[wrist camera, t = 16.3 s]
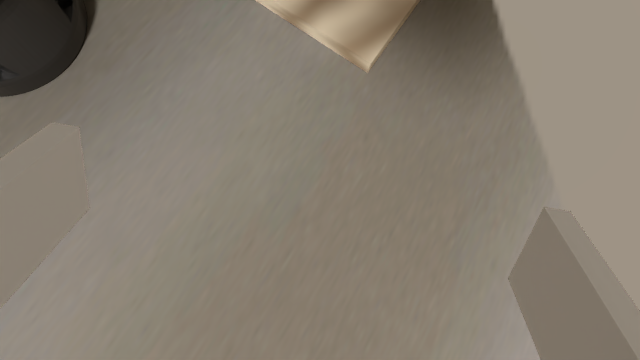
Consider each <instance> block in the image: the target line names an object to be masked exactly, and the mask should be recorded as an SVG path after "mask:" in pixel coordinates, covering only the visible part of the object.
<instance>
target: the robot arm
mask: <svg viewBox="0 0 640 360" xmlns="http://www.w3.org/2000/svg"><path fill="white" fill-rule="evenodd" d="M86 28H87V14H86V8H85V5H84V2H83V0H0V97H3V96H13V95H18V94H22V93H26V92H29V91H32V90H34V89H37V88H39V87H41V86H43V85H45V84H47V83H48V82H50V81H51V80H53V79H54V78H56V77H57V76H58V75H60V74H61V73H62V72H63V71H64V70H65V69H66V68H67V67H68V66H69V65H70V64H71V62H72V61H73V60H74V58H75V57H76V55H77V54H78V52H79V50H80V48H81V46H82V44H83V41H84V38H85V34H86ZM89 208H90V204H89V197H88V189H87V181H86V174H85V166H84V158H83V151H82V143H81V136H80V128H79V127H77V126H71V125H65V124H59V123H54V122H51V123H50V124H48V125H47V126H46V127H44V128H43V129H41V130H40V131H38V132H37V133H36V134H34V135H33V136H31V137H30V138H29V139H27V140H26V141H24V142H23V143H21V144H20V145H19V146H17V147H16V148H14V149H13V150H12V151H10V152H9V153H7V154H6V155H4V156H3V157H2V158H0V309H1V308H2V306H3V305H4V304H5V303H6V302H7V301H8V300H9V299H10V297H11V296H12V295H13V294H14V293H15V292H16V291H17V290H18V288H19V287H20V286H21V285H22V284H23V283H24V282H25V281H26V279H27V278H28V277H29V276H30V275H31V274H32V273H33V272H34V270H35V269H36V268H37V267H38V266H39V265H40V264H41V263H42V261H43V260H44V259H45V258H46V257H47V256H48V255H49V254H50V252H51V251H52V250H53V249H54V248H55V247H56V246H57V245H58V243H59V242H60V241H61V240H62V239H63V238H64V237H65V236H66V234H67V233H68V232H69V231H70V230H71V229H72V228H73V227H74V225H75V224H76V223H77V222H78V221H79V220H80V219H81V218H82V216H83V215H84V214H85V213H86V212H87V211H88V210H89ZM508 280H509V282H510V285H511V287H512V289H513V292H514V294H515V297H516V299H517V302H518V304H519V307H520V309H521V312H522V314H523V317H524V319H525V322H526V324H527V327H528V329H529V332H530V334H531V337H532V339H533V342H534V344H535V347H536V349H537V352H538V354H539V357H540V359H541V360H640V310H639V309H638V308H637V306H636V305H635V303H634V302H633V300H632V299H631V297H630V296H629V295H628V293H627V292H626V290H625V289H624V287H623V286H622V284H621V283H620V282H619V280H618V279H617V277H616V276H615V274H614V273H613V272H612V270H611V269H610V267H609V266H608V264H607V263H606V262H605V260H604V259H603V257H602V256H601V254H600V253H599V251H598V250H597V249H596V247H595V246H594V244H593V243H592V242H591V240H590V239H589V237H588V236H587V234H586V233H585V231H584V230H583V229H582V227H581V226H580V224H579V223H578V221H577V220H576V218H575V217H574V216H573V214H572V213H571V211H566V210H560V209H554V208H548V207H544V208H543V210H542V212H541V214H540V216H539V218H538V220H537V222H536V224H535V226H534V228H533V230H532V232H531V234H530V236H529V238H528V240H527V242H526V244H525V246H524V248H523V250H522V252H521V254H520V256H519V258H518V260H517V262H516V264H515V266H514V267H513V269H512V271H511V273H510V275H509V277H508Z"/></svg>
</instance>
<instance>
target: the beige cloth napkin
mask: <svg viewBox="0 0 640 360" xmlns="http://www.w3.org/2000/svg"><path fill="white" fill-rule="evenodd" d="M255 1H257V2H258V3H260V4H262V5H263V6H265V7H266V8H268V9H269V10H271V11H272V12H274V13H276V14H277V15H279V16H280V17H282V18H283V19H285V20H286V21H288V22H289V23H291V24H293V25H294V26H296V27H297V28H299V29H300V30H302V31H303V32H305V33H307V34H308V35H310V36H311V37H313V38H314V39H316V40H317V41H319V42H320V43H322V44H324V45H325V46H327V47H328V48H330V49H331V50H333V51H334V52H336V53H338V54H339V55H341V56H342V57H344V58H345V59H347V60H348V61H350V62H351V63H353V64H355V65H356V66H358V67H359V68H361V69H362V70H364V71H365V72H367V73H368V72H369V71H370V69H371V68H372V66H373V65H374V64H375V62H376V61H377V60H378V58H379V57H380V55H381V54H382V53H383V51H384V50H385V48H386V47H387V46H388V44H389V43H390V42H391V40H392V39H393V37H394V36H395V35H396V33H397V32H398V30H399V29H400V28H401V26H402V25H403V24H404V22H405V21H406V19H407V18H408V17H409V15H410V14H411V12H412V11H413V10H414V8H415V7H416V6H417V4H418V3H419V1H420V0H255Z"/></svg>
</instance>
